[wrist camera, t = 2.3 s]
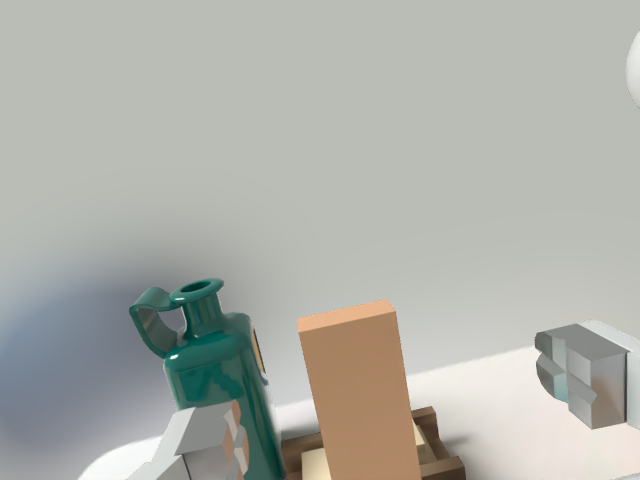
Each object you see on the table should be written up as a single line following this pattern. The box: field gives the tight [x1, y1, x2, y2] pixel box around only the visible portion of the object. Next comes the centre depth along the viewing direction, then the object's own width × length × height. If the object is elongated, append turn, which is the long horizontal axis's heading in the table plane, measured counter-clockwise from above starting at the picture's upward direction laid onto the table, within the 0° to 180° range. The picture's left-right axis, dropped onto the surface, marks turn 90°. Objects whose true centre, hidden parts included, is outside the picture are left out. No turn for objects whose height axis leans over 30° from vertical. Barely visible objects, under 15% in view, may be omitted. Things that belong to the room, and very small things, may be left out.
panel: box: [298, 299, 422, 480], centre depth 24 cm, size 6×2×20 cm, turn 95°
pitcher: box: [129, 278, 285, 480], centre depth 36 cm, size 10×8×22 cm
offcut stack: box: [301, 419, 437, 480], centre depth 32 cm, size 12×5×5 cm, turn 95°
